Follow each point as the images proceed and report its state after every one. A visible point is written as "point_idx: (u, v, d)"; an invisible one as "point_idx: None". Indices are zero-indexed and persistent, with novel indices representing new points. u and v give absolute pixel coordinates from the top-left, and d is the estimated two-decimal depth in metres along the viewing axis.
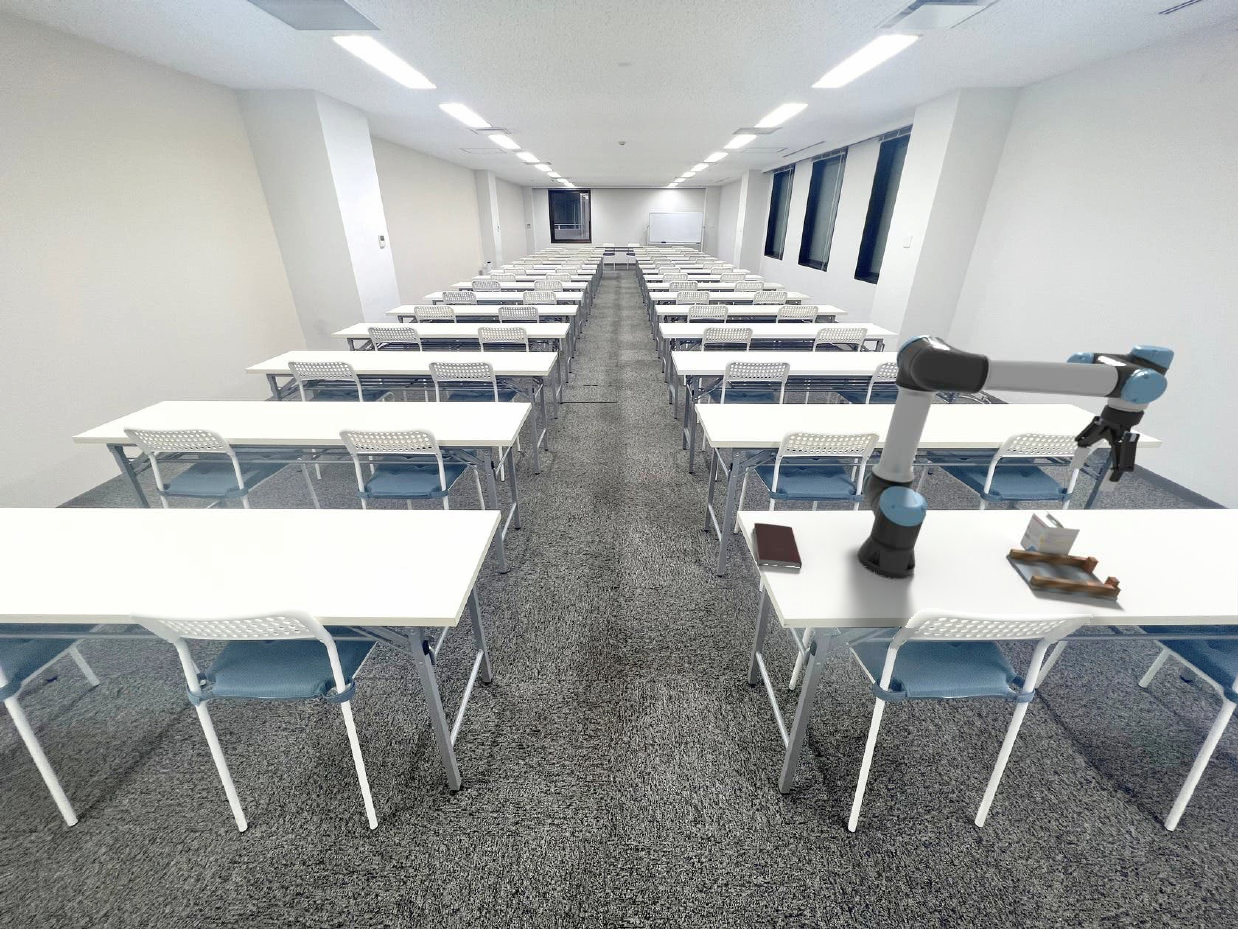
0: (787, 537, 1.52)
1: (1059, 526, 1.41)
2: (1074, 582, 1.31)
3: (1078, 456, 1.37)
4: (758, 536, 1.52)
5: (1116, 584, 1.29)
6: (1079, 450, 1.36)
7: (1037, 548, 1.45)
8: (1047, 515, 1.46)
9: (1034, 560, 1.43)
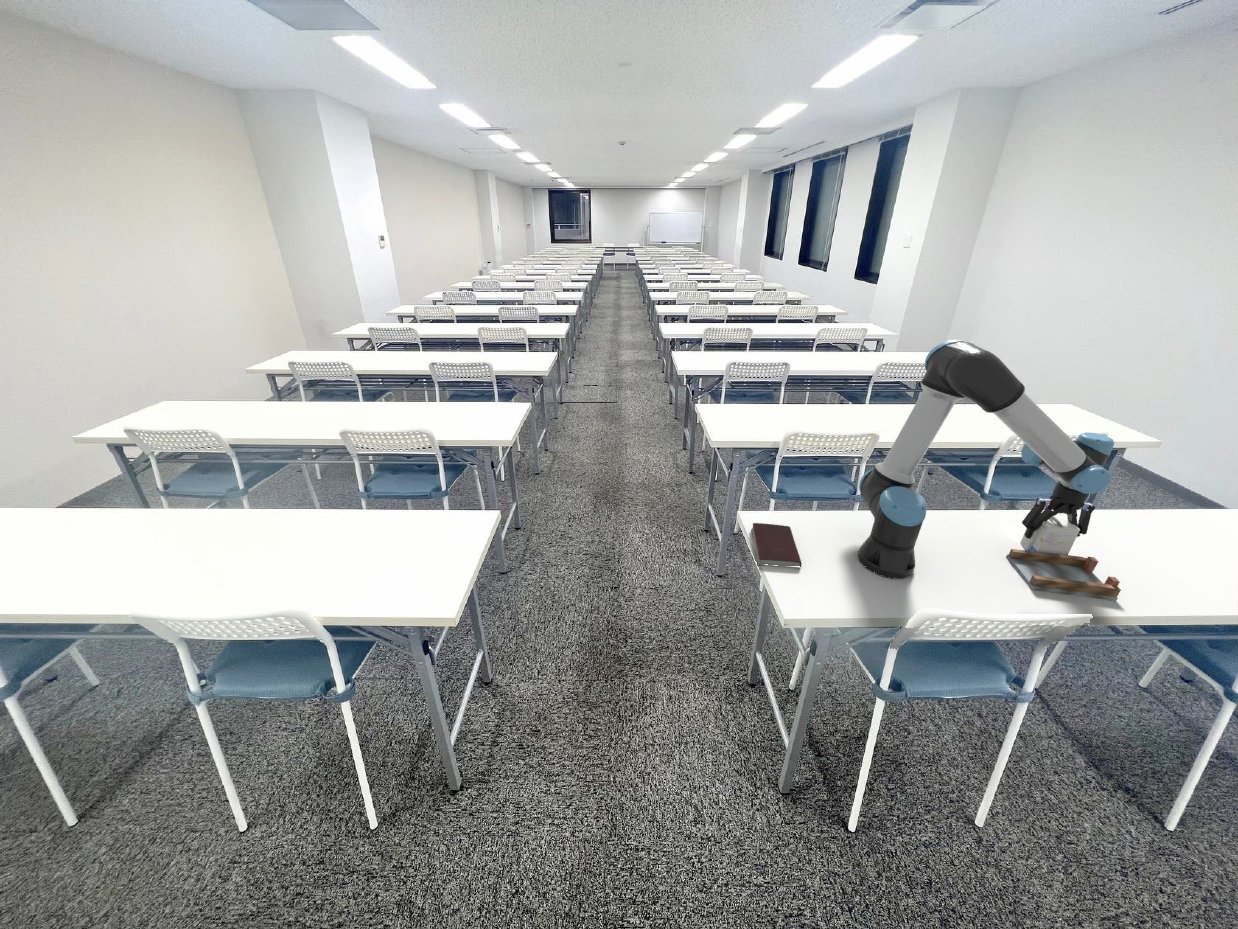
0: (786, 536, 1.52)
1: (1059, 526, 1.41)
2: (1074, 582, 1.31)
3: None
4: (757, 537, 1.52)
5: (1116, 584, 1.29)
6: None
7: (1037, 548, 1.45)
8: None
9: (1034, 560, 1.43)
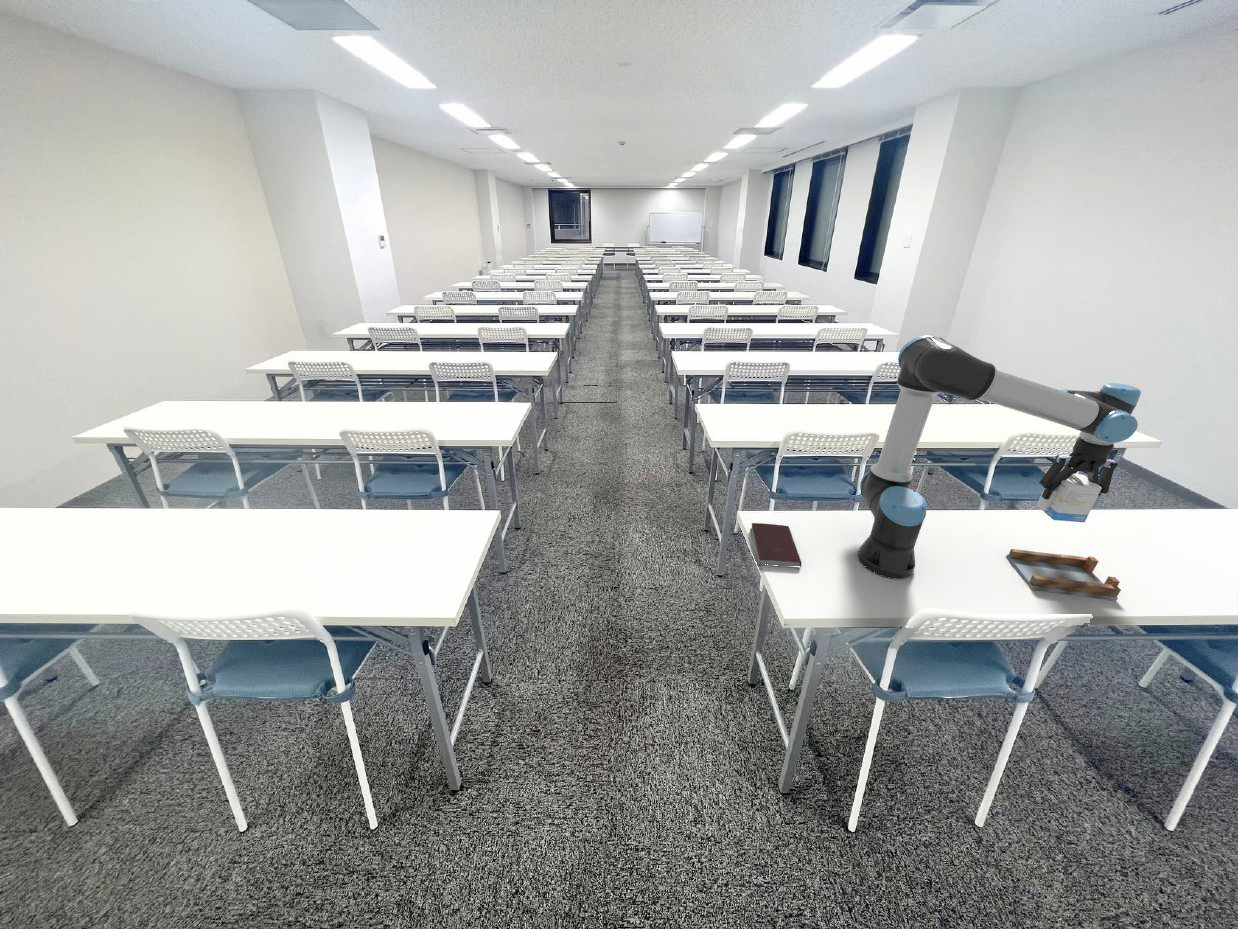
0: (785, 536, 1.52)
1: (1080, 484, 1.34)
2: (1074, 582, 1.31)
3: None
4: (756, 537, 1.52)
5: (1116, 584, 1.29)
6: None
7: (1055, 509, 1.37)
8: None
9: (1034, 560, 1.43)
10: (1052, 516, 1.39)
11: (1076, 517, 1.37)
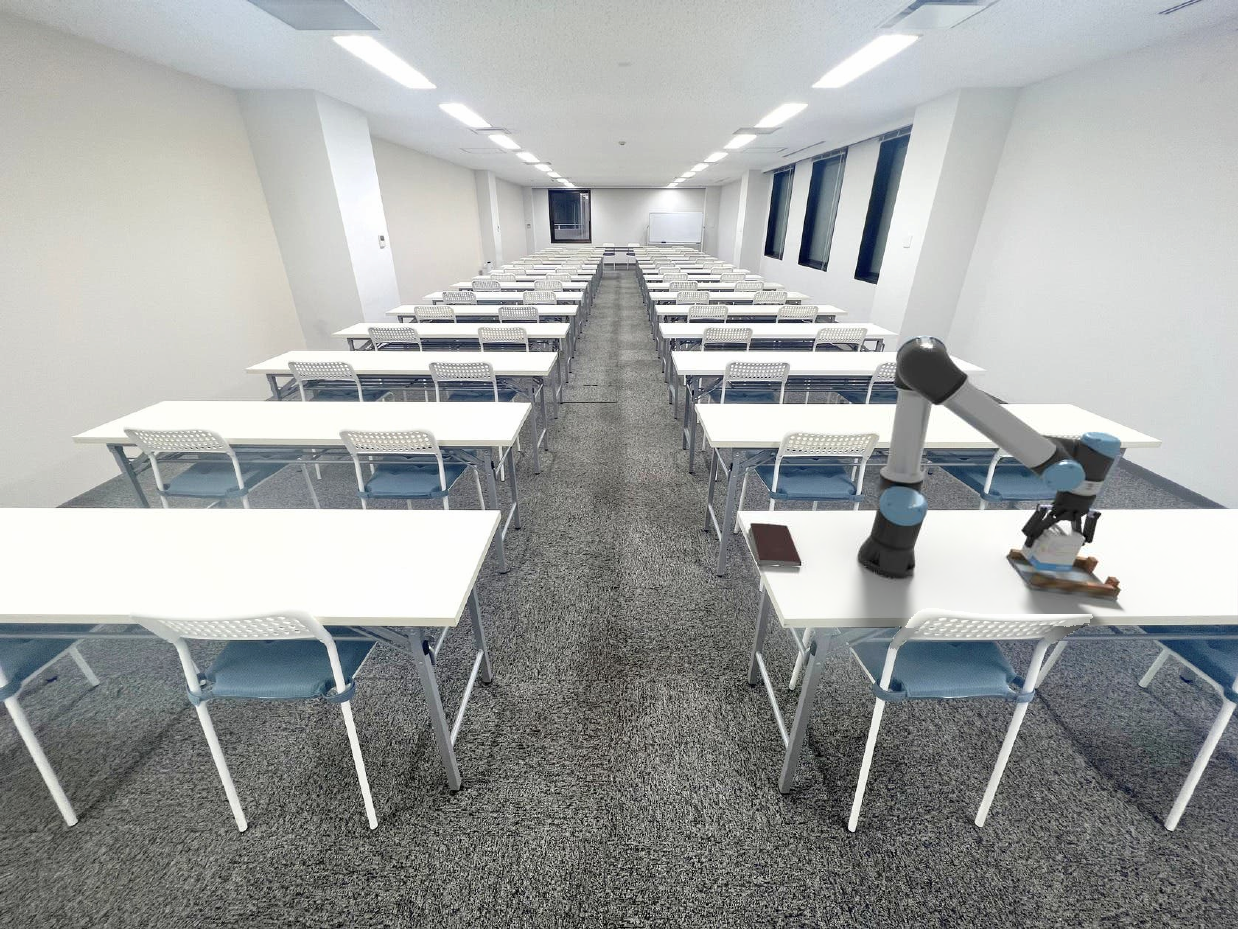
0: (784, 536, 1.52)
1: (1062, 534, 1.29)
2: (1074, 582, 1.31)
3: None
4: (756, 537, 1.52)
5: (1116, 584, 1.29)
6: None
7: (1038, 558, 1.33)
8: None
9: None
10: (1035, 566, 1.34)
11: (1060, 567, 1.32)
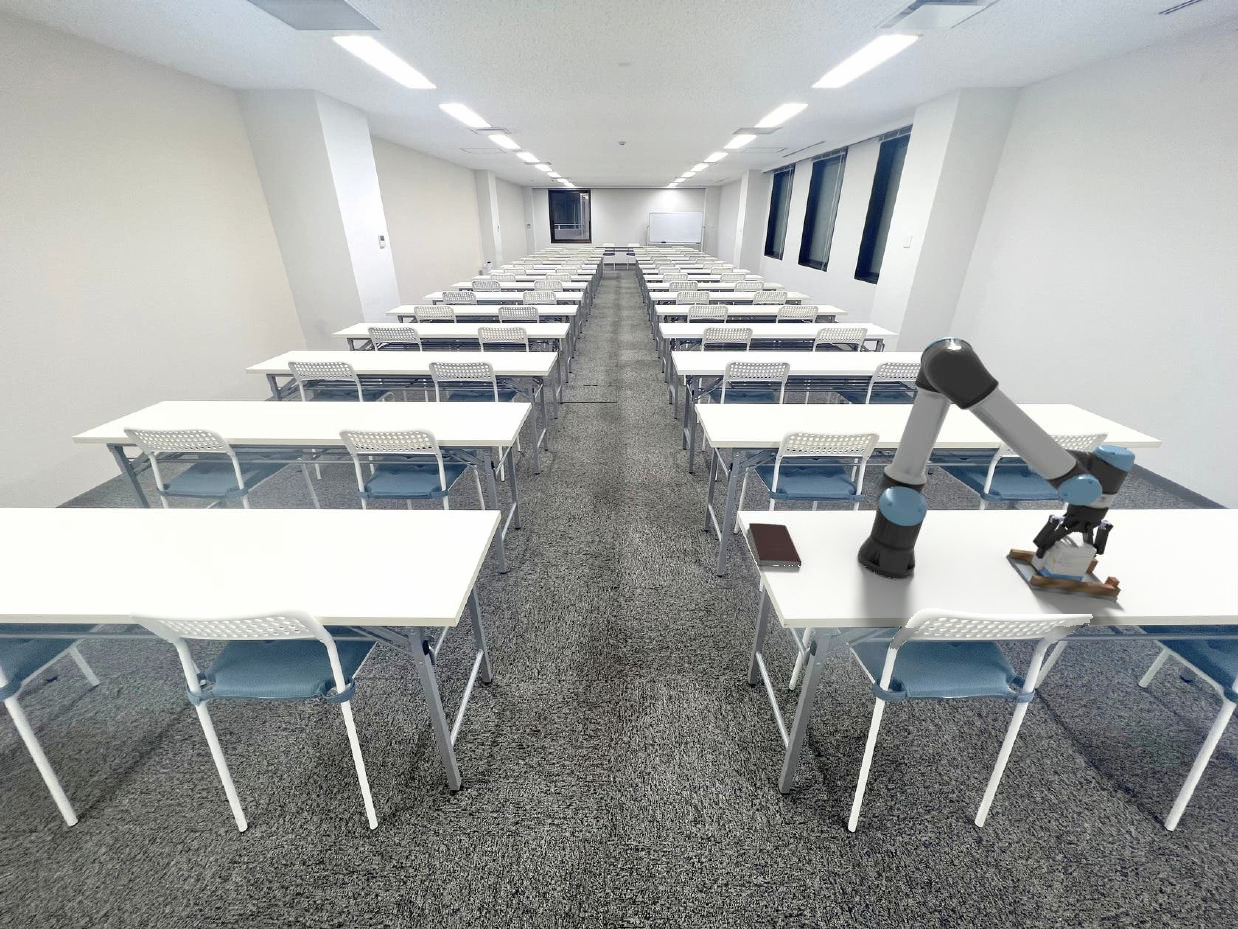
0: (783, 535, 1.53)
1: (1074, 546, 1.30)
2: (1074, 582, 1.31)
3: None
4: (755, 537, 1.52)
5: (1116, 584, 1.29)
6: None
7: (1049, 569, 1.33)
8: None
9: None
10: (1046, 576, 1.35)
11: (1071, 578, 1.33)
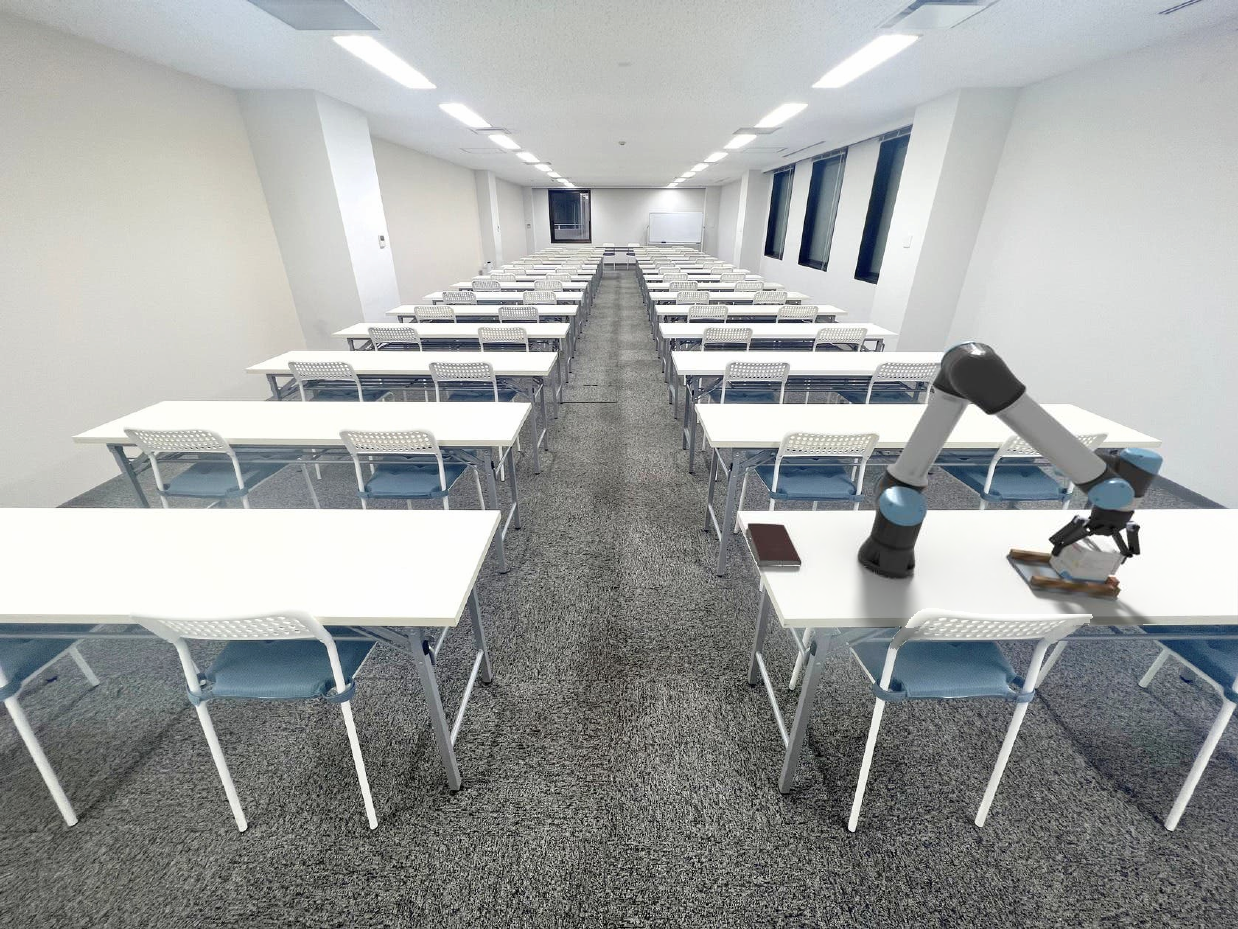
0: (782, 535, 1.53)
1: (1097, 550, 1.29)
2: (1074, 582, 1.31)
3: None
4: (754, 537, 1.52)
5: (1116, 584, 1.29)
6: None
7: (1071, 573, 1.33)
8: None
9: (1034, 560, 1.43)
10: None
11: None
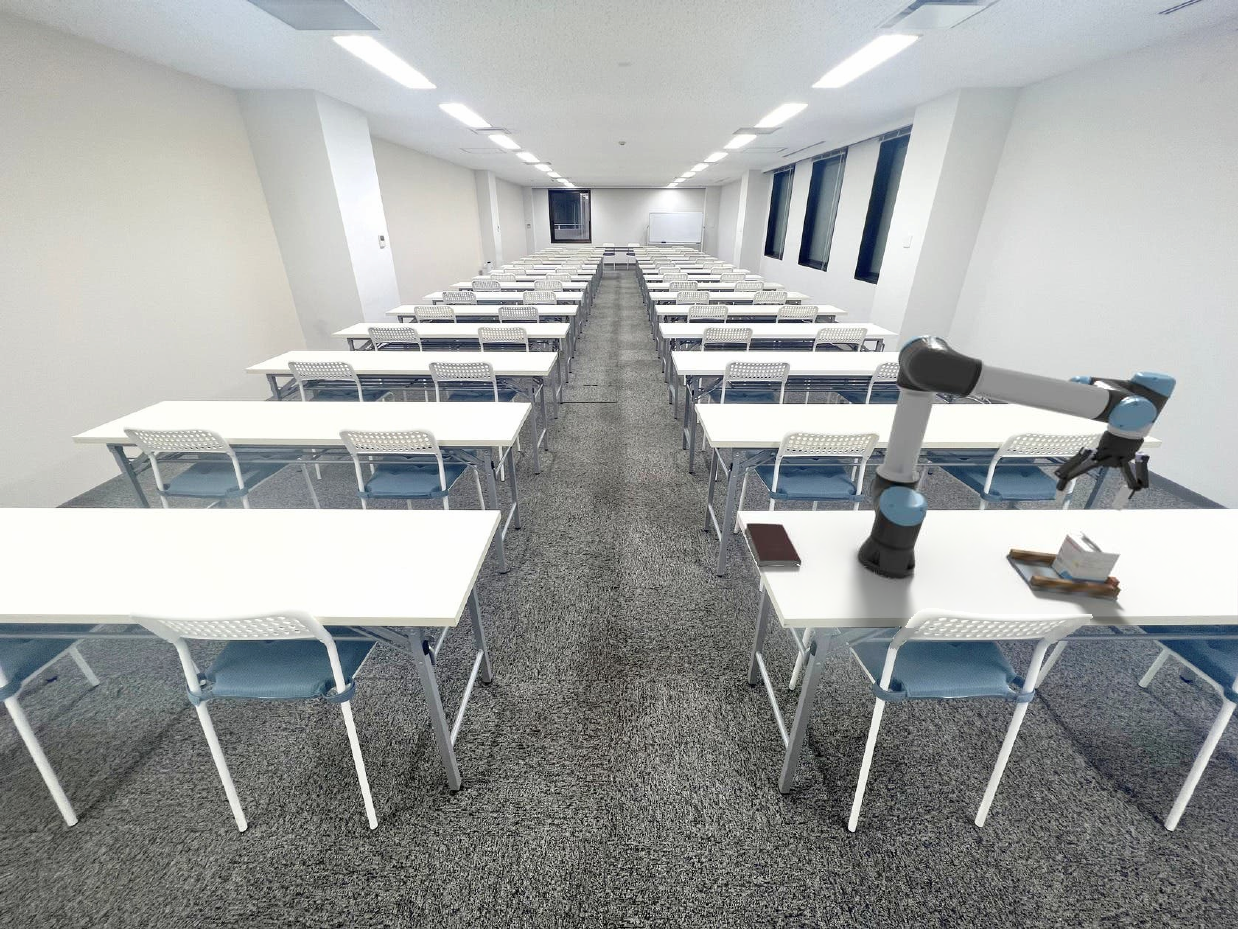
0: (781, 535, 1.53)
1: (1097, 550, 1.29)
2: (1074, 582, 1.31)
3: (1119, 494, 1.28)
4: (753, 537, 1.52)
5: (1116, 584, 1.29)
6: (1122, 487, 1.28)
7: (1071, 573, 1.33)
8: (1082, 537, 1.34)
9: (1034, 560, 1.43)
10: None
11: None
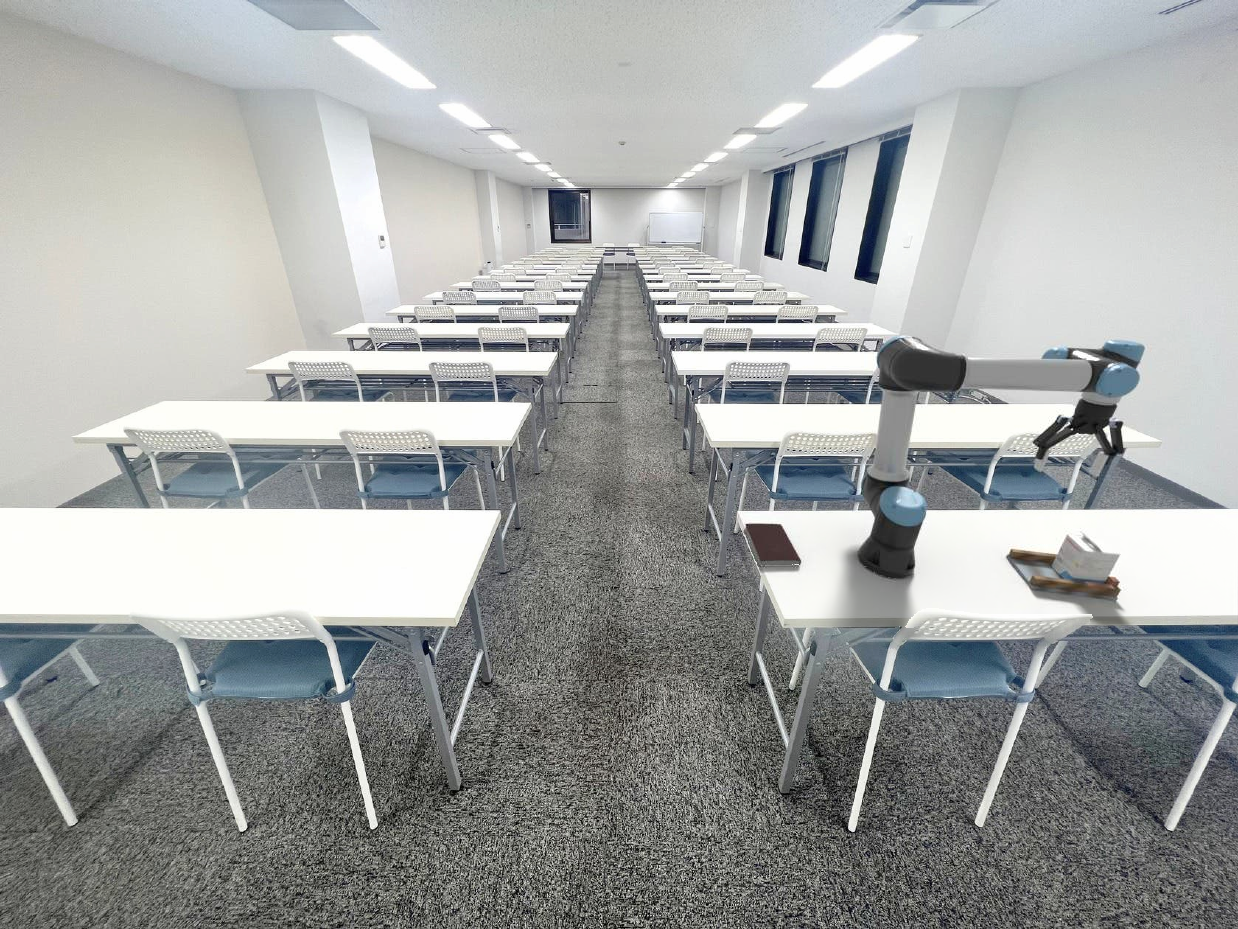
0: (780, 535, 1.53)
1: (1097, 550, 1.29)
2: (1074, 582, 1.31)
3: (1096, 460, 1.32)
4: (753, 537, 1.52)
5: (1116, 584, 1.29)
6: (1098, 454, 1.32)
7: (1071, 573, 1.33)
8: (1082, 537, 1.34)
9: (1034, 560, 1.43)
10: None
11: None
